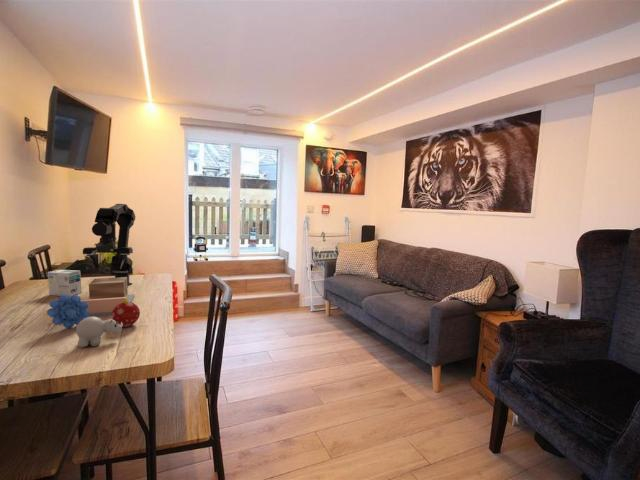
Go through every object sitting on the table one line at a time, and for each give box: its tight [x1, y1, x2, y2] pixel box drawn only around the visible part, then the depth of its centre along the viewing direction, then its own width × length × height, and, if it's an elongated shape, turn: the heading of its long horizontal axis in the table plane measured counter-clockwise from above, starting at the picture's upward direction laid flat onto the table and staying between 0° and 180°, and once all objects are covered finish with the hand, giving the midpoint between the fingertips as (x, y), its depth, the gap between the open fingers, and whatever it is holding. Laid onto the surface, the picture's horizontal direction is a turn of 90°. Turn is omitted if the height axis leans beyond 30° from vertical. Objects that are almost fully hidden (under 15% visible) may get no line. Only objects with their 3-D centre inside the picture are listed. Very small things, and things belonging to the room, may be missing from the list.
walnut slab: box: [88, 277, 129, 300], centre depth 139 cm, size 10×12×7 cm
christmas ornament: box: [111, 298, 141, 328], centre depth 116 cm, size 9×9×10 cm
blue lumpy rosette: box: [46, 294, 90, 329], centre depth 112 cm, size 12×7×12 cm, turn 137°
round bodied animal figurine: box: [75, 316, 123, 348], centre depth 102 cm, size 7×12×8 cm, turn 120°
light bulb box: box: [47, 269, 83, 297], centre depth 152 cm, size 11×7×11 cm, turn 84°
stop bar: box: [80, 297, 127, 313], centre depth 127 cm, size 2×16×5 cm, turn 113°
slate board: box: [89, 294, 135, 317], centre depth 138 cm, size 25×16×1 cm, turn 23°
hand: (108, 269), depth 152 cm, fingers open, 9 cm apart
